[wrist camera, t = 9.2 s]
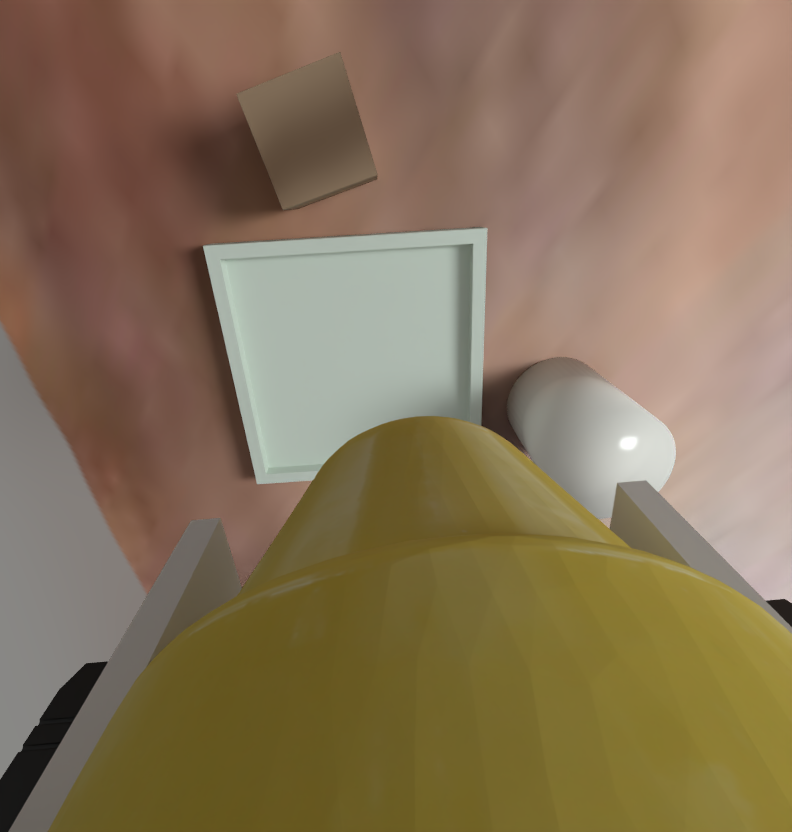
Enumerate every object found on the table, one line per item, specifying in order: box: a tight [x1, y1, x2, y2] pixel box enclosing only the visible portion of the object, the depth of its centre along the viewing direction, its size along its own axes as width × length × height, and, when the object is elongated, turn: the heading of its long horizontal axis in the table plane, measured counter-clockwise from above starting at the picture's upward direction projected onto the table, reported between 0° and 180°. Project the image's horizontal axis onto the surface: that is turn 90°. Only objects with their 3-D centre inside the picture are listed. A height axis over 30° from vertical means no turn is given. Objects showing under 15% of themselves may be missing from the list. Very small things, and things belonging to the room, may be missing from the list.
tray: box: [203, 227, 487, 484], centre depth 30 cm, size 17×17×2 cm
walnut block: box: [236, 52, 377, 210], centre depth 23 cm, size 5×5×5 cm
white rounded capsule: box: [507, 357, 676, 519], centre depth 29 cm, size 7×7×9 cm
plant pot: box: [48, 416, 792, 832], centre depth 8 cm, size 10×10×10 cm
